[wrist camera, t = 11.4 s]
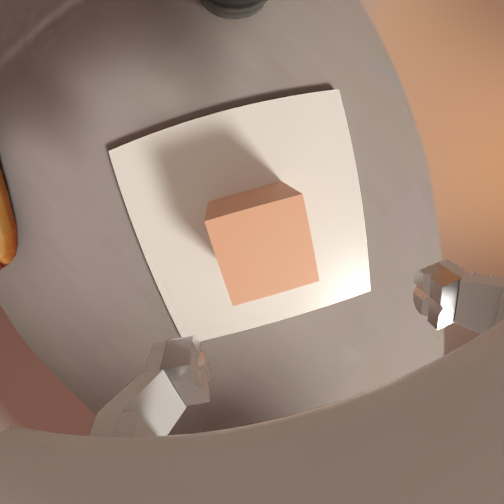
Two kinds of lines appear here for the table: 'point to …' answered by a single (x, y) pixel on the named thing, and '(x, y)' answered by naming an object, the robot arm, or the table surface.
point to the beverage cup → (234, 7)
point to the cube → (262, 242)
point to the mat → (239, 180)
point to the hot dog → (6, 227)
